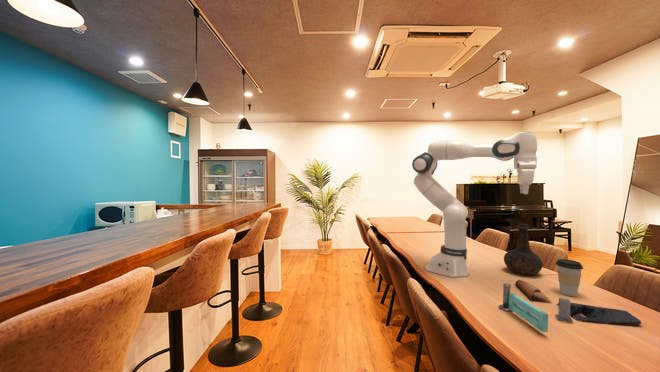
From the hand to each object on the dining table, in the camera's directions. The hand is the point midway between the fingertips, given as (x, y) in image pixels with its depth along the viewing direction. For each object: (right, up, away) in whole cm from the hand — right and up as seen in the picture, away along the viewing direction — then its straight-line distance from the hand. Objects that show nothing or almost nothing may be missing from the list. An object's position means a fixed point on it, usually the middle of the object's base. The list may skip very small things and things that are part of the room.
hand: (524, 193), depth 126 cm
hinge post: (-23, -46, -21) cm, 56 cm away
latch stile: (-6, -47, -29) cm, 55 cm away
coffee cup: (+16, -46, -6) cm, 49 cm away
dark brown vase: (+15, -46, +21) cm, 53 cm away
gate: (-23, -45, -31) cm, 59 cm away
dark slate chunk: (+9, -47, -25) cm, 54 cm away
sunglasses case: (-1, -47, -7) cm, 47 cm away
